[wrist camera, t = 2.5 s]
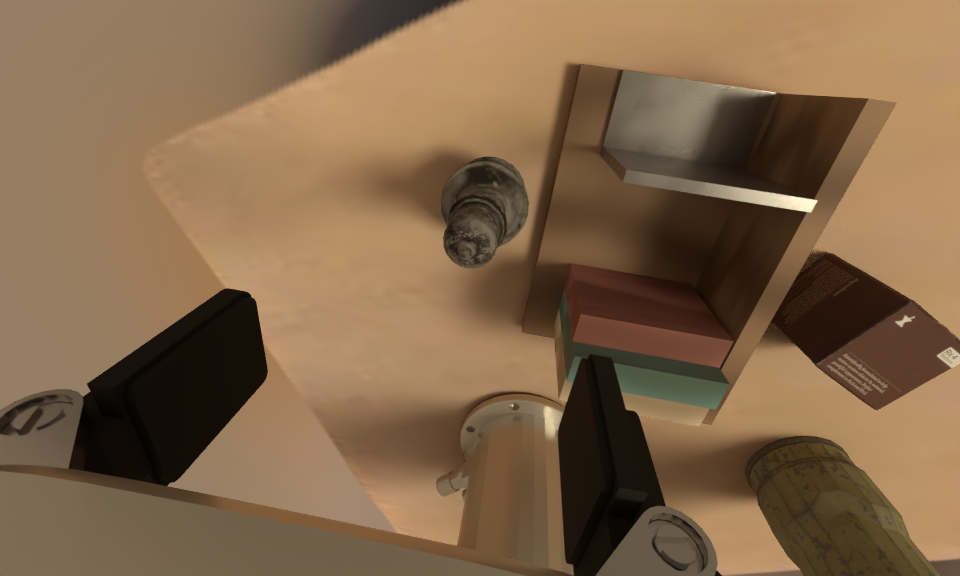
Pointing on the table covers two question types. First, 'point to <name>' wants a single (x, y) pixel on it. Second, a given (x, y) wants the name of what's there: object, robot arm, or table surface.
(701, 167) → the bookend
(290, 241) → the table surface
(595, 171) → the shelf
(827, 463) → the robed figure statue
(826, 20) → the table surface
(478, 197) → the dark grey chess piece
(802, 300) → the box
